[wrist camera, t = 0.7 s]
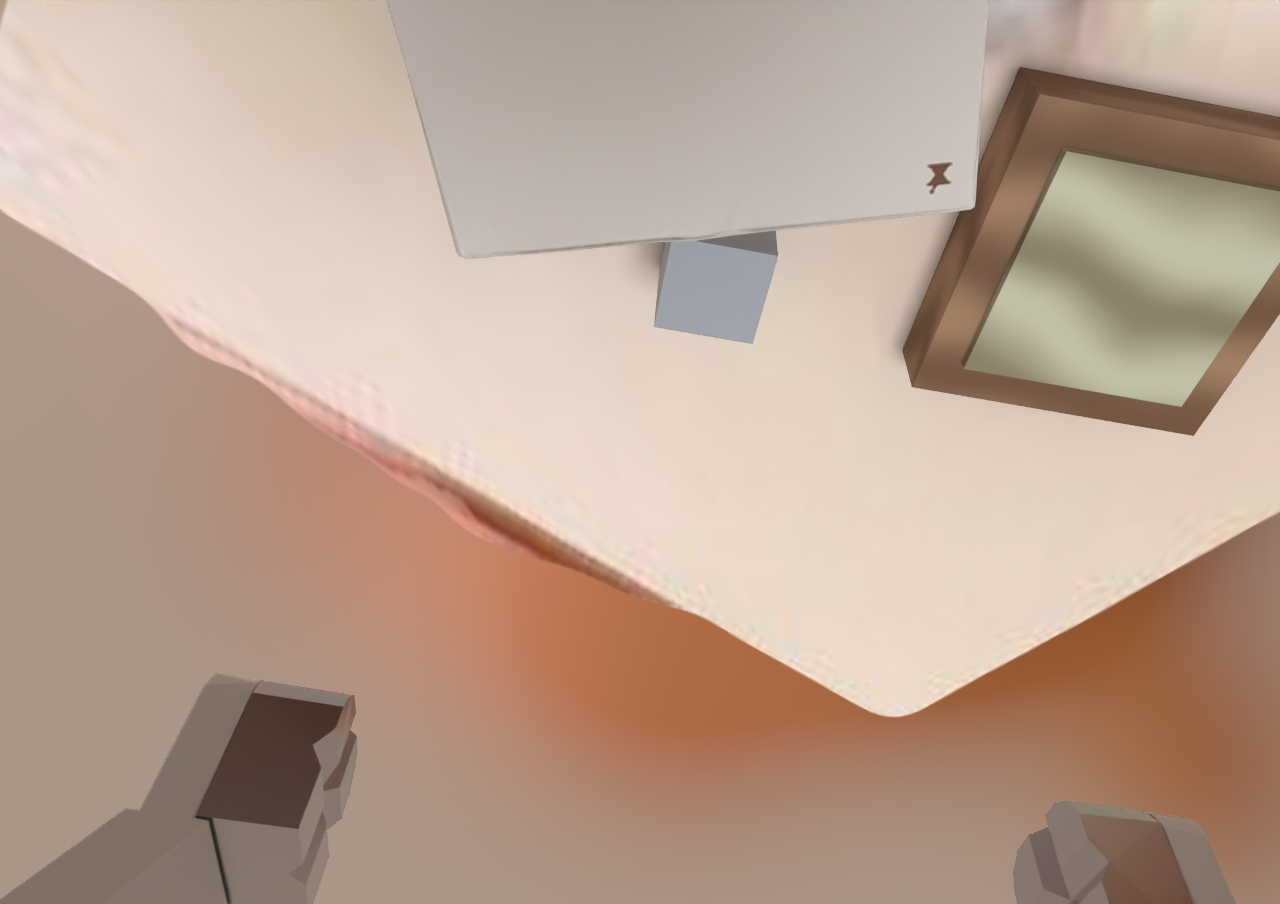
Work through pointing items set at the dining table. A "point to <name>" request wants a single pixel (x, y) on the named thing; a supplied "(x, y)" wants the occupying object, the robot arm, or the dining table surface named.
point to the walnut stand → (1107, 257)
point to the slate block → (716, 285)
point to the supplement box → (691, 115)
